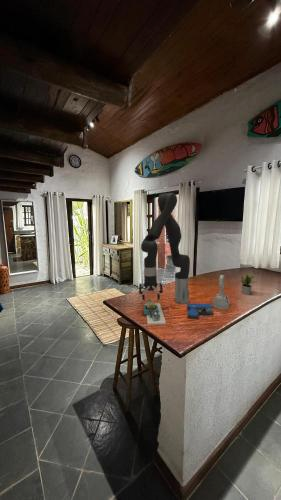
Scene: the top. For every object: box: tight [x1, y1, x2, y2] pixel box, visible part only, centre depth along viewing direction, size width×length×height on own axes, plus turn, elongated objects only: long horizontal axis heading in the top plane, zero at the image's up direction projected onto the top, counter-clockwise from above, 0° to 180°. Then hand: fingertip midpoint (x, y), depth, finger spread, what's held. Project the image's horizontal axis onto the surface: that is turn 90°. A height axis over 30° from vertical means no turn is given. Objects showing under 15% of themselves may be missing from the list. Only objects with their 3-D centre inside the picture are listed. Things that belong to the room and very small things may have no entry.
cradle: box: [143, 304, 159, 316], centre depth 129 cm, size 8×8×3 cm
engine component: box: [212, 274, 230, 310], centre depth 137 cm, size 11×20×10 cm
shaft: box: [149, 309, 160, 321], centre depth 121 cm, size 8×4×4 cm, turn 22°
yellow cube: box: [145, 301, 156, 310], centre depth 129 cm, size 5×5×5 cm
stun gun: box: [186, 302, 214, 320], centre depth 127 cm, size 4×16×15 cm
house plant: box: [238, 272, 257, 296], centre depth 158 cm, size 14×14×16 cm
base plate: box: [144, 302, 167, 326], centre depth 129 cm, size 10×28×1 cm, turn 2°
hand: (151, 299), depth 128 cm, fingers open, 8 cm apart
